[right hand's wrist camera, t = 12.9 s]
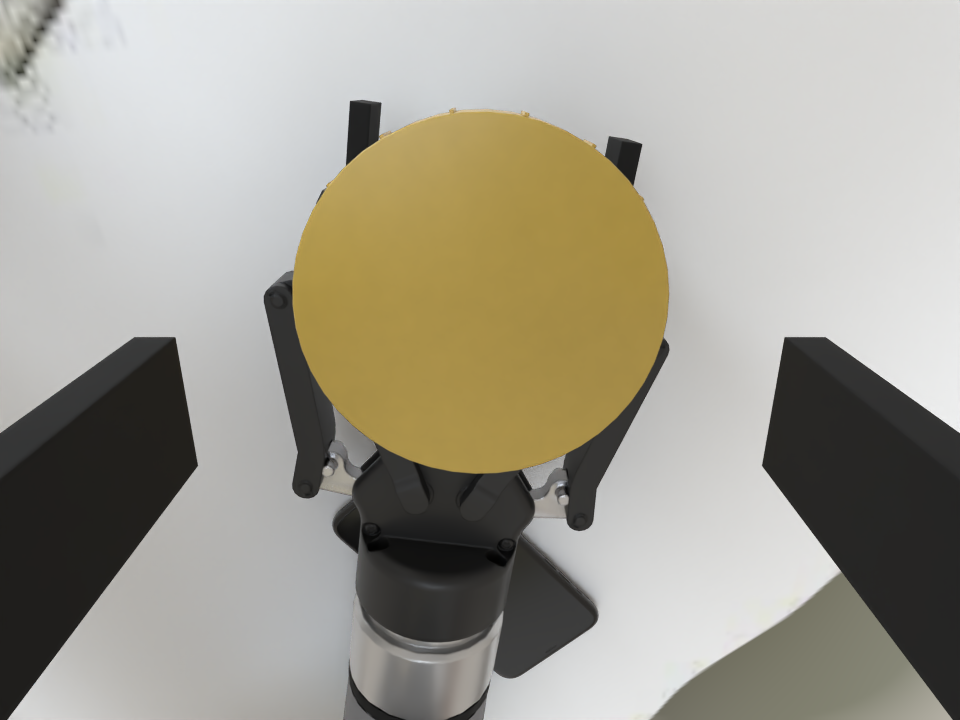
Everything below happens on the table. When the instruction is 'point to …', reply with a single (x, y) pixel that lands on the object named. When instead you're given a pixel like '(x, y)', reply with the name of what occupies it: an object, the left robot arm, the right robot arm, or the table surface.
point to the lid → (480, 291)
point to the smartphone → (519, 604)
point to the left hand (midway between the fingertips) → (496, 121)
